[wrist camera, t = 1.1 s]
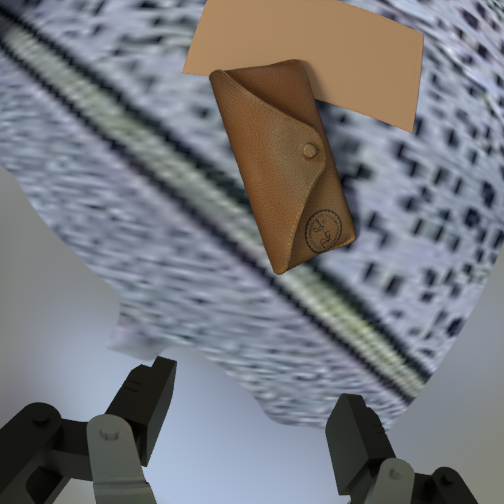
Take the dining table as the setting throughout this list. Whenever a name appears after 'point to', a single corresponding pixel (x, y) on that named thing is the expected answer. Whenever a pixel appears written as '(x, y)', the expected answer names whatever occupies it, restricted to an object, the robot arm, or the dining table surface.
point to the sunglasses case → (284, 161)
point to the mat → (317, 51)
